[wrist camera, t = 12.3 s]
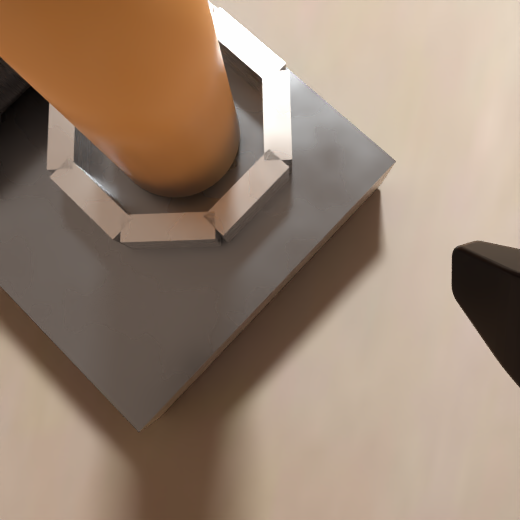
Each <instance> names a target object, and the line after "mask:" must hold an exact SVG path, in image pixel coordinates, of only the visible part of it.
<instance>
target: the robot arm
mask: <svg viewBox="0 0 520 520" xmlns="http://www.w3.org/2000/svg"><path fill="white" fill-rule="evenodd" d="M452 292H453V295H454V297H455V299H456V301H457V302H458V304H459V305H460V307H461V308H462V310H463V311H464V312H465V314H466V315H467V317H468V318H469V320H470V321H471V323H472V324H473V326H474V327H475V328H476V330H477V331H478V333H479V334H480V336H481V337H482V339H483V340H484V341H485V343H486V344H487V346H488V347H489V349H490V350H491V352H492V353H493V355H494V356H495V357H496V359H497V360H498V361H499V363H500V364H501V365H502V367H503V368H504V369H505V371H506V372H507V373H508V374H509V375H510V377H511V378H512V379H513V380H514V381H515V383H516V384H517V385H518V386H519V387H520V249H517V248H512V247H507V246H502V245H497V244H493V243H488V242H483V241H473V242H470V243H466V244H463V245H460V246H457V247H456V248H455V249H454V250H453V253H452Z"/></svg>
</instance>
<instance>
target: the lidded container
mask: <svg viewBox="0 0 520 520" xmlns="http://www.w3.org/2000/svg"><path fill="white" fill-rule="evenodd" d="M0 57H1V58H2V59H3V60H4V61H5V62H6V63H7V64H9V65H10V66H11V67H12V68H13V69H14V70H15V71H16V72H17V73H18V74H19V75H20V76H21V77H22V78H23V79H25V80H26V81H27V82H28V83H29V84H30V85H31V86H32V87H33V88H34V89H35V90H36V91H37V92H38V93H40V94H41V95H42V96H43V97H44V98H45V99H46V100H47V101H48V102H49V103H50V104H51V105H52V106H53V107H54V108H56V109H57V110H58V111H59V112H60V113H61V114H62V115H63V116H64V117H65V118H66V119H67V120H68V121H69V122H70V123H72V124H73V125H74V126H75V127H76V128H77V129H78V130H79V131H80V132H81V133H82V134H83V135H84V136H85V137H87V138H88V139H89V140H90V141H91V142H92V143H93V144H94V145H95V146H96V147H97V148H98V149H99V150H100V151H101V152H103V153H104V154H105V155H106V156H107V157H108V158H109V159H110V160H111V161H112V162H113V163H114V164H115V165H116V166H117V167H119V168H120V169H121V170H122V171H123V172H124V173H125V174H126V175H127V176H128V177H129V178H130V179H131V180H132V181H134V182H135V183H136V184H137V185H138V186H140V187H141V188H142V189H144V190H146V191H148V192H150V193H153V194H156V195H159V196H164V197H173V198H174V197H185V196H191V195H194V194H197V193H200V192H202V191H204V190H206V189H208V188H209V187H211V186H213V185H214V184H215V183H216V182H218V181H219V180H220V179H221V178H222V177H223V176H224V175H225V174H226V172H227V171H228V170H229V168H230V167H231V165H232V163H233V161H234V159H235V157H236V154H237V151H238V147H239V142H240V127H239V121H238V117H237V113H236V109H235V105H234V101H233V97H232V93H231V90H230V86H229V82H228V78H227V74H226V70H225V66H224V62H223V58H222V54H221V51H220V47H219V43H218V39H217V35H216V31H215V27H214V23H213V19H212V15H211V11H210V8H209V4H208V0H0Z"/></svg>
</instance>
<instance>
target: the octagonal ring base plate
mask: <svg viewBox="0 0 520 520" xmlns="http://www.w3.org/2000/svg"><path fill="white" fill-rule="evenodd" d="M208 4H209V8H210V11H211V15H212V19H213V23H214V27H215V31H216V35H217V39H218V43H219V47H220V51H221V54H222V58H223V62H224V66H225V70H226V74H227V78H228V82H229V86H230V90H231V93H232V97H233V101H234V105H235V109H236V113H237V117H238V121H239V127H240V142H239V147H238V151H237V154H236V157H235V159H234V161H233V163H232V165H231V167H230V168H229V170H228V171H227V172H226V174H225V175H224V176H223V177H222V178H221V179H220V180H219V181H218V182H216V183H215V184H214V185H213V186H211V187H209V188H208V189H206V190H204V191H202V192H200V193H197V194H194V195H191V196H185V197H174V198H173V197H164V196H159V195H156V194H153V193H150V192H148V191H146V190H144V189H142V188H141V187H140V186H138V185H137V184H136V183H135V182H134V181H132V180H131V179H130V178H129V177H128V176H127V175H126V174H125V173H124V172H123V171H122V170H121V169H120V168H119V167H117V166H116V165H115V164H114V163H113V162H112V161H111V160H110V159H109V158H108V157H107V156H106V155H105V154H104V153H103V152H101V151H100V150H99V149H98V148H97V147H96V146H95V145H94V144H93V143H92V142H91V141H90V140H89V139H88V138H87V137H85V136H84V135H83V134H82V133H81V132H80V131H79V130H78V129H77V128H76V127H75V126H74V125H73V124H72V123H70V122H69V121H68V120H67V119H66V118H65V117H64V116H63V115H62V114H61V113H60V112H59V111H58V110H57V109H56V108H54V107H53V106H52V105H51V104H50V103H49V102H48V101H47V100H46V99H45V98H44V97H43V96H42V95H41V94H40V93H38V92H37V91H36V90H35V89H34V88H33V87H32V86H31V85H30V84H29V83H28V82H27V81H26V80H25V79H23V78H22V77H21V76H20V75H19V74H18V73H17V72H16V71H15V70H14V69H13V68H12V67H11V66H10V65H9V64H7V63H6V62H5V61H4V60H3V59H2V58H1V57H0V286H1V287H2V288H3V289H4V290H5V292H6V293H7V294H8V295H9V296H10V297H11V298H12V299H13V300H14V301H15V302H16V303H17V304H18V305H19V306H20V307H21V308H22V309H23V311H24V312H25V313H26V314H27V315H28V316H29V317H30V318H31V319H32V320H33V321H34V322H35V323H36V324H37V325H38V326H39V327H40V328H41V330H42V331H43V332H44V333H45V334H46V335H47V336H48V337H49V338H50V339H51V340H52V341H53V342H54V343H55V344H56V345H57V346H58V347H59V349H60V350H61V351H62V352H63V353H64V354H65V355H66V356H67V357H68V358H69V359H70V360H71V361H72V362H73V363H74V364H75V365H76V366H77V368H78V369H79V370H80V371H81V372H82V373H83V374H84V375H85V376H86V377H87V378H88V379H89V380H90V381H91V382H92V383H93V384H94V385H95V387H96V388H97V389H98V390H99V391H100V392H101V393H102V394H103V395H104V396H105V397H106V398H107V399H108V400H109V401H110V402H111V403H112V405H113V406H114V407H115V408H116V409H117V410H118V411H119V412H120V413H121V414H122V415H123V416H124V417H125V418H126V419H127V420H128V421H129V422H130V424H131V425H132V426H133V427H134V428H135V429H136V430H137V431H138V432H140V431H141V430H143V429H144V428H146V427H147V426H149V425H150V424H152V423H153V422H154V421H156V420H157V419H159V418H160V417H161V416H162V415H163V414H164V413H165V412H166V411H167V410H168V409H169V408H170V407H171V406H172V404H173V403H174V402H175V401H176V400H177V399H178V398H179V397H180V396H181V395H182V394H183V393H184V392H185V391H186V390H187V389H188V388H189V387H190V385H191V384H192V383H193V382H194V381H195V380H196V379H197V378H198V377H199V376H200V375H201V374H202V373H203V372H204V371H205V370H206V369H207V368H208V366H209V365H210V364H211V363H212V362H213V361H214V360H215V359H216V358H217V357H218V356H219V355H220V354H221V353H222V352H223V351H224V350H225V348H226V347H227V346H228V345H229V344H230V343H231V342H232V341H233V340H234V339H235V338H236V337H237V336H238V335H239V334H240V333H241V332H242V331H243V329H244V328H245V327H246V326H247V325H248V324H249V323H250V322H251V321H252V320H253V319H254V318H255V317H256V316H257V315H258V314H259V313H260V312H261V310H262V309H263V308H264V307H265V306H266V305H267V304H268V303H269V302H270V301H271V300H272V299H273V298H274V297H275V296H276V295H277V294H278V293H279V291H280V290H281V289H282V288H283V287H284V286H285V285H286V284H287V283H288V282H289V281H290V280H291V279H292V278H293V277H294V276H295V275H296V274H297V272H298V271H299V270H300V269H301V268H302V267H303V266H304V265H305V264H306V263H307V262H308V261H309V260H310V259H311V258H312V257H313V256H314V254H315V253H316V252H317V251H318V250H319V249H320V248H321V247H322V246H323V245H324V244H325V243H326V242H327V241H328V240H329V239H330V238H331V237H332V235H333V234H334V233H335V232H336V231H337V230H338V229H339V228H340V227H341V226H342V225H343V224H344V223H345V222H346V221H347V220H348V219H349V218H350V216H351V215H352V214H353V213H354V212H355V211H356V210H357V209H358V208H359V207H360V206H361V205H362V204H363V203H364V202H365V201H366V200H367V199H368V197H369V196H370V195H371V194H372V193H373V192H374V191H375V190H376V189H377V188H378V187H379V186H380V185H381V184H382V182H383V180H384V179H385V177H386V176H387V174H388V173H389V171H390V170H391V168H392V166H393V165H394V163H395V162H396V161H395V160H394V159H393V158H392V157H390V156H389V155H388V154H387V153H386V152H385V151H383V150H382V149H381V148H380V147H379V146H378V145H376V144H375V143H374V142H373V141H372V140H371V139H369V138H368V137H367V136H366V135H365V134H364V133H362V132H361V131H360V130H359V129H358V128H357V127H355V126H354V125H353V124H352V123H351V122H349V121H348V120H347V119H346V118H345V117H344V116H342V115H341V114H340V113H339V112H338V111H337V110H335V109H334V108H333V107H332V106H331V105H330V104H328V103H327V102H326V101H325V100H324V99H323V98H321V97H320V96H319V95H318V94H317V93H316V92H314V91H313V90H312V89H311V88H310V87H309V86H307V85H306V84H305V83H304V82H303V81H302V80H300V79H299V78H298V77H297V76H296V75H295V74H293V73H292V72H291V71H290V70H289V69H288V68H286V63H285V62H284V61H283V60H281V59H280V58H279V57H278V56H277V55H276V54H274V53H273V52H272V51H271V50H270V49H269V48H267V47H266V46H265V45H264V44H263V43H262V42H260V41H259V40H258V39H257V38H256V37H255V36H253V35H252V34H251V33H250V32H249V31H248V30H246V29H245V28H244V27H243V26H242V25H241V24H239V23H238V22H237V21H236V20H235V19H234V18H232V17H231V16H230V15H229V14H228V13H226V12H225V11H224V10H223V9H222V8H221V7H220V8H219V9H218V8H216V7H215V6H214V5H213V4H212V3H210V2H209V1H208Z"/></svg>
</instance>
